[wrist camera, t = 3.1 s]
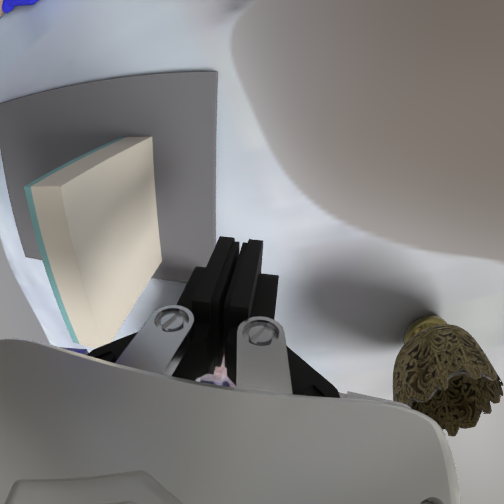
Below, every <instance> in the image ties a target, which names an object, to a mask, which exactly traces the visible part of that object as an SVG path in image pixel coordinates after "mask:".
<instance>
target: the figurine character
mask: <svg viewBox="0 0 504 504" xmlns="http://www.w3.org/2000/svg"><path fill="white" fill-rule="evenodd" d="M37 1H38V0H0V17H1V16H2V15H3V14H4V13H8V12H10V11H11V10H12V9H13V8H14V7H15V6H23V5H33V4H35V3H36V2H37Z"/></svg>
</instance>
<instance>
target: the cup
mask: <svg viewBox="0 0 504 504" xmlns="http://www.w3.org/2000/svg"><path fill="white" fill-rule="evenodd" d="M499 380H500V381H501V379H500V378H499V376H498V375H497V373H496V371H495V370H494V368H493V366H492V364H491V363H490V361H489V360H488V358H487V356H486V355H485V353H484V352H483V350H482V349H481V347H480V346H479V344H478V343H477V342H476V340H475V339H474V338H473V337H472V336H471V335H470V334H469V333H468V332H467V331H465V330H464V329H462V328H460V327H458V326H455V325H449V324H447V323H446V321H444V320H443V319H442V318H440V317H438V316H434V315H429V316H424V317H421V318H419V319H417V320H416V321H414V322H413V323H412V324H411V325H410V326H409V327H408V329H407V331H406V333H405V337H404V346H403V347H402V348H401V350H400V352H399V354H398V356H397V358H396V361H395V365H394V371H393V401H396V402H401V403H403V404H406V405H408V406H409V407H410V408H411V409H413V410H416V411H419V412H421V413H423V414H425V415H427V416H429V417H430V418H432V419H433V420H434V421H436V422H437V423H438V425H439V426H440V427H441V429H442V430H443V429H446V430H447V432H448V435H449V436H456V434H457V432H458V430H459V427H460V428H464V429H466V428H471V427H475V426H476V424H477V422H478V420H479V417H480V414H481V412H482V411H483V412H484V414H488V413H489V414H490V413H491V405H490V401H491V402H493V403H499V402H500V395H502V396H503V391H502V387H501V385H502V386H503V383H502V381H501V382H500V381H499Z"/></svg>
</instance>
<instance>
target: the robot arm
mask: <svg viewBox="0 0 504 504" xmlns="http://www.w3.org/2000/svg"><path fill="white" fill-rule="evenodd" d="M262 251H263V241H261V240H251V239H249V241H248V243H244V242H243V244H242V247H241V251H240V254H239V242H235V239H234V238H231V237H221V236H220V237H219V239H218V242H217V244H216V246H215V248H214V251H213V253H212V255H211V257H210V259H209V262H208V264H207V266H206V267H199V266H196V267H195V269H194V270H193V272H192V274H191V276H190V279H189V281H188V283H187V285H186V287H185V289H184V291H183V293H182V295H181V297H180V299H179V301H178V303H177V305H168V306H164V307H161V308H159V309H157V310H156V311H155V312H154V313H153V314H152V315H151V316H150V318H149V319H148V320H147V321H146V323H145V324H144V325H143V327H142V328H141V329H140V330H139V332H137V333H134V334H131V335H129V336H126V337H124V338H121V339H119V340H116V341H113V342H111V343H108V344H106V345H103V346H100V347H98V348H96V349H94V350H92V351H91V352H90V353H88V351H87V349H74V348H62V347H57V346H53V345H50V344H46V343H43V342H39V341H34V340H29V339H19V338H12V339H2V340H0V504H461V500H460V499H461V498H460V490H459V484H458V478H457V473H456V468H455V464H454V460H453V456H452V452H451V449H450V446H449V443H448V440H447V438H446V436H445V434H444V432H443V430H442V429H441V427H440V426H439V425H438V423H437V422H436V421H434V420H433V419H432V418H430V417H429V416H427V415H425V414H423V413H421V412H419V411H416V410H413V409H411V408H410V407H409V406H408V405H406V404H403V403H401V402H396V401H391V400H386V399H381V398H376V397H371V396H367V395H362V394H358V393H353V392H349V391H348V392H347V394H343V393H339V392H338V390H337V389H336V388H335V387H334V386H333V385H332V384H331V383H330V382H329V381H327V380H326V379H325V378H324V377H323V376H321V375H320V374H319V373H318V372H317V371H315V370H314V369H313V368H312V367H311V366H309V365H308V364H307V363H306V362H305V361H304V360H302V359H301V358H300V357H299V356H298V355H297V354H295V353H294V352H293V351H292V350H291V349H290V348H289V347H287V346H286V340H285V333H284V330H283V327H282V326H281V325H280V324H279V323H278V322H277V321H275V320H274V316H275V306H276V297H277V288H278V278H279V276H278V275H269V274H261V265H262ZM223 357H224V359H225V368H227V377H228V378H229V379H230V380H231V381H232V382H233V383H234V384H235V385H236V388H235V387H228V386H222V385H215V384H209V383H204V382H200V381H201V380H200V377H202V376H204V375H206V374H213V375H214V371H215V367H216V366H217V367H221V364H222V361H223Z"/></svg>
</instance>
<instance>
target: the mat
mask: <svg viewBox="0 0 504 504" xmlns="http://www.w3.org/2000/svg"><path fill="white" fill-rule="evenodd" d="M217 83H218V72H179V73H163V74H150V75H139V76H130V77H122V78H114V79H107V80H100V81H94V82H88V83H82V84H77V85H72V86H67V87H62V88H57V89H53V90H49V91H44V92H40V93H36V94H32V95H29V96H25V97H21V98H18V99H14V100H11V101H7V102H4V103H1V104H0V148H1V155H2V161H3V167H4V173H5V178H6V184H7V188H8V193H9V198H10V202H11V206H12V211H13V215H14V219H15V222H16V226H17V230H18V233H19V237H20V240H21V244H22V247H23V250H24V253H25V256H26V257H28V258H34V259H39V260H42V257H41V254H40V250H39V247H38V243H37V240H36V236H35V232H34V228H33V225H32V221H31V216H30V212H29V208H28V204H27V199H26V194H25V189H24V186H26V185H28V184H29V183H31V182H33V181H34V180H36V179H38V178H40V177H42V176H43V175H45V174H47V173H49V172H51V171H52V170H54V169H56V168H58V167H60V166H62V165H64V164H66V163H68V162H70V161H72V160H74V159H75V158H77V157H80V156H82V155H84V154H86V153H88V152H90V151H92V150H94V149H96V148H98V147H100V146H103V145H105V144H107V143H109V142H111V141H114V140H116V139H118V138H121V137H148V136H152V142H153V163H154V180H155V194H156V206H157V218H158V228H159V238H160V247H161V256H162V262H161V263H160V265H159V266H158V268H157V269H156V271H155V273H154V274H153V276H152V277H151V278H155V279H162V280H170V281H177V282H184V283H188V281H189V279H190V276H191V274H192V272H193V270H194V269H195V267H196V266H199V267H206V266H207V264H208V262H209V259H210V257H211V255H212V253H213V251H214V248H215V246H216V118H217Z"/></svg>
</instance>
